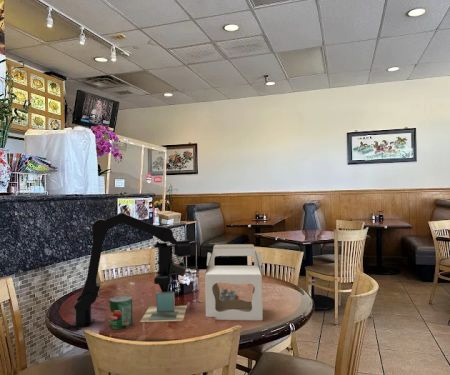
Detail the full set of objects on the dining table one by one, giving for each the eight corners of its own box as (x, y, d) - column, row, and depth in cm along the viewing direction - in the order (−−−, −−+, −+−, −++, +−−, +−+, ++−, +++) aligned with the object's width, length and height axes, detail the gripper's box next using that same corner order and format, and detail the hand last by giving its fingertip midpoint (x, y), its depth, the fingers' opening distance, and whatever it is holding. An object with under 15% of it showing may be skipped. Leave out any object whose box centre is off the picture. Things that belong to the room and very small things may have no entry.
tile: (174, 312, 141) (173, 293, 140) (156, 312, 141) (155, 293, 140) (174, 310, 142) (174, 291, 142) (157, 310, 142) (156, 291, 141)
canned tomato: (136, 325, 130) (136, 295, 130) (125, 333, 122) (125, 301, 123) (117, 323, 132) (117, 294, 132) (105, 331, 124) (105, 300, 125)
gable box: (205, 319, 135) (203, 246, 135) (210, 308, 148) (208, 242, 149) (263, 320, 132) (261, 246, 133) (263, 309, 146) (261, 242, 146)
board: (182, 323, 131) (182, 320, 131) (139, 325, 130) (139, 321, 130) (187, 308, 149) (187, 305, 149) (149, 309, 148) (149, 306, 148)
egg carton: (222, 295, 168) (222, 287, 168) (238, 296, 167) (238, 287, 167) (218, 302, 158) (217, 293, 158) (234, 302, 156) (234, 293, 156)
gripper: (182, 261, 134) (183, 302, 134) (186, 253, 153) (187, 289, 153) (153, 262, 134) (154, 303, 134) (161, 254, 153) (161, 290, 152)
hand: (165, 296), depth 143 cm, fingers closed
